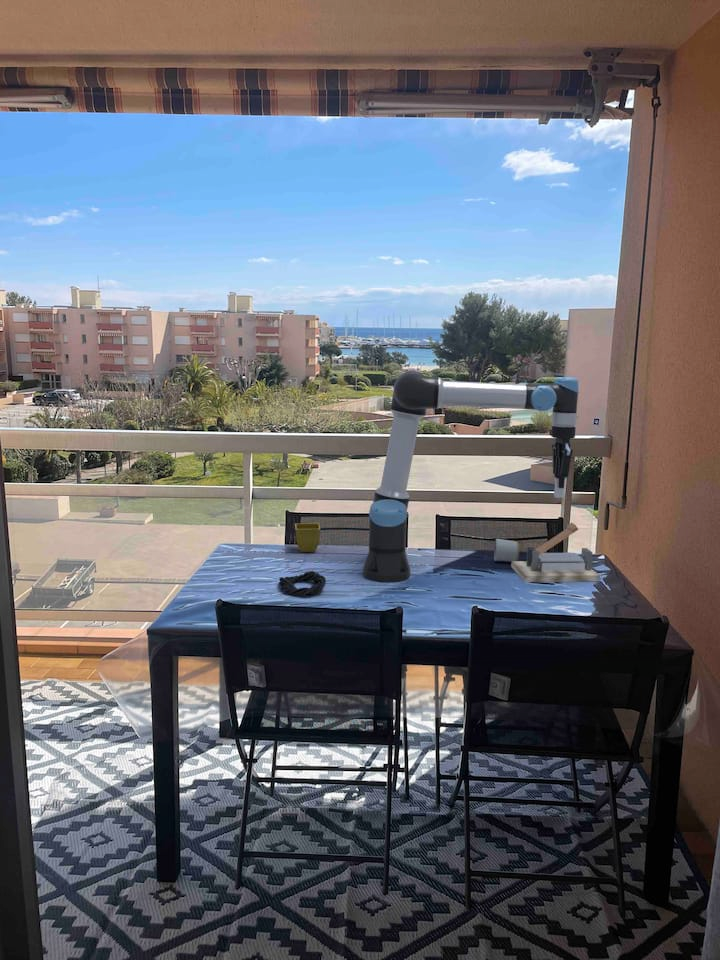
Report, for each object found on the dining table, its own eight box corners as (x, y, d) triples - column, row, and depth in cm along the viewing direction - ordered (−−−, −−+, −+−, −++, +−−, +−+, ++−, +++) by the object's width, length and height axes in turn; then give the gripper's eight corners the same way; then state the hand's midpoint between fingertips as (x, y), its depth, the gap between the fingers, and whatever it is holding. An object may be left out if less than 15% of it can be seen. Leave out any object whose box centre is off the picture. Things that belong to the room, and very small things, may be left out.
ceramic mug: (519, 564, 254) (520, 542, 253) (494, 563, 255) (496, 541, 254) (515, 556, 265) (517, 535, 264) (492, 555, 266) (493, 534, 264)
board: (525, 581, 236) (525, 575, 236) (511, 566, 252) (511, 561, 251) (599, 581, 238) (599, 575, 237) (580, 566, 254) (581, 560, 253)
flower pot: (294, 547, 271) (294, 523, 269) (318, 547, 272) (319, 522, 270) (295, 554, 262) (295, 529, 260) (320, 553, 263) (320, 528, 261)
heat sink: (533, 573, 238) (535, 553, 237) (524, 563, 249) (525, 544, 248) (594, 572, 240) (595, 553, 239) (582, 563, 250) (583, 544, 249)
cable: (326, 599, 218) (326, 584, 217) (278, 599, 216) (278, 585, 216) (324, 580, 235) (324, 567, 234) (278, 581, 233) (279, 567, 232)
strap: (535, 559, 241) (531, 554, 241) (531, 556, 245) (528, 551, 244) (578, 530, 241) (575, 525, 240) (574, 527, 244) (571, 522, 244)
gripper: (582, 428, 236) (577, 501, 240) (567, 423, 249) (563, 493, 253) (559, 427, 235) (554, 501, 240) (545, 423, 248) (541, 493, 253)
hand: (558, 497), depth 246 cm, fingers closed
